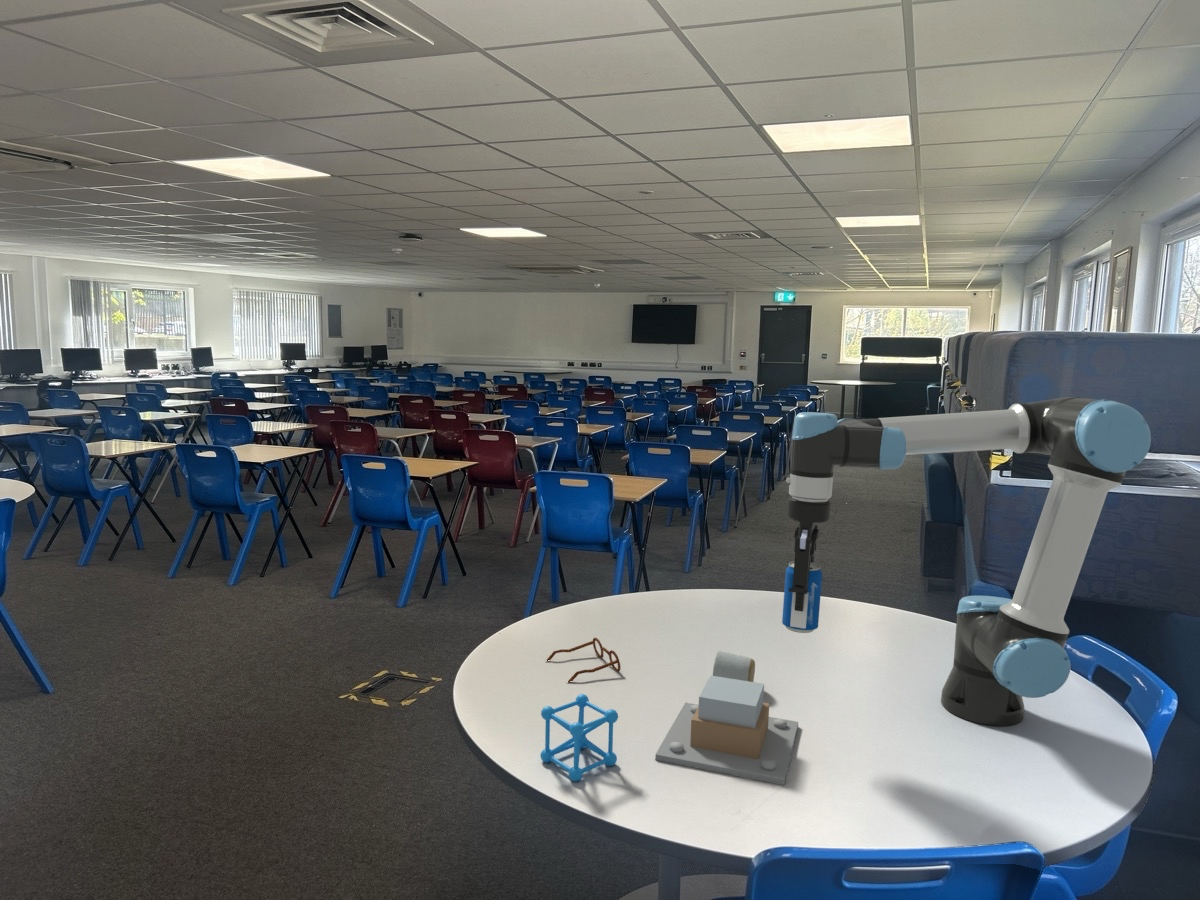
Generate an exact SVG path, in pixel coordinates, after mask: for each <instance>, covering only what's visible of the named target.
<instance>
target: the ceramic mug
mask: <svg viewBox="0 0 1200 900" xmlns="http://www.w3.org/2000/svg"><path fill="white" fill-rule="evenodd" d="M755 670H756V661H755V659H753V658H751V657H748V656H745V655H741V654H736V653H731V652H727V651H722V650H717V652H716V654H715V657H714V663H713V669H712V676H717V677H724V678H730V679H736V680H743V681H749V682H754V679H755V672H756V671H755Z"/></svg>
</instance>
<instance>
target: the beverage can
mask: <svg viewBox="0 0 1200 900" xmlns="http://www.w3.org/2000/svg"><path fill="white" fill-rule="evenodd" d="M794 561H795V560H793V561H790V562H789V563H788V566H787V567H786V568H785V578H784V591H783V604H782V615H781V616H782V620H781V622H782V623H781V624H782V625H784V626H785V628H786V629H787V630H788V631H791V632H794V633H799V634H809V633H812V632H814V630H817V629H818V628H819V618H820V608H821V607H820V606H821V594H822V584H823V582H822V581H823V573H822V570H821V566H820V565H819V564H817V563H815V562H814V563H811V562H810V572H809V581H808V592H809V593H808V606H807V619H806V629H804V628H798V627H791V626H790V621H791V608H792V594H793V592H789V588H792V585H793V573H794ZM800 586H801V585H800Z"/></svg>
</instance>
